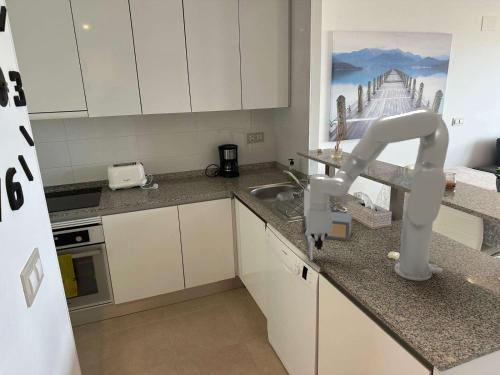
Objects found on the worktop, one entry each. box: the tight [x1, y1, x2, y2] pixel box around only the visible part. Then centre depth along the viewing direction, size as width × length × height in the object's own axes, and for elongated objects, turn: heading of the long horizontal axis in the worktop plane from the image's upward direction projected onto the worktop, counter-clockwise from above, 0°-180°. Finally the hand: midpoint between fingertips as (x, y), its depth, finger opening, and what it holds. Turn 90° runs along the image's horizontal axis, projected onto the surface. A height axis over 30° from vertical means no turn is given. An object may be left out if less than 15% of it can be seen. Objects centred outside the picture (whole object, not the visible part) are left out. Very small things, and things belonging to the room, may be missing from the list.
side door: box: [306, 236, 314, 261], centre depth 149 cm, size 25×2×8 cm, turn 174°
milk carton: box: [303, 183, 310, 217], centre depth 182 cm, size 7×7×19 cm
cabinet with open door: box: [301, 211, 353, 242], centre depth 163 cm, size 22×12×10 cm, turn 69°
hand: (318, 248), depth 139 cm, fingers closed
